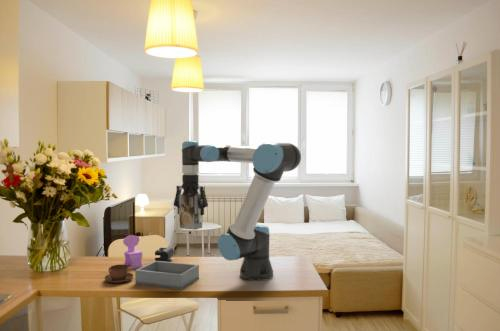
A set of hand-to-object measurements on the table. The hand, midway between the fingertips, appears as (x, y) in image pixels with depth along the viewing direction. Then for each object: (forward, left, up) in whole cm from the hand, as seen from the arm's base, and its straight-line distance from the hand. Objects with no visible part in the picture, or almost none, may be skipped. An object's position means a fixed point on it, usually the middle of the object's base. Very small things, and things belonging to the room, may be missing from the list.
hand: (190, 221), depth 196 cm
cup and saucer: (+23, +24, -24) cm, 41 cm away
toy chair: (+30, +3, -23) cm, 38 cm away
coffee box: (0, 0, -3) cm, 3 cm away
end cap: (+20, -10, -24) cm, 33 cm away
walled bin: (+2, +18, -23) cm, 29 cm away
